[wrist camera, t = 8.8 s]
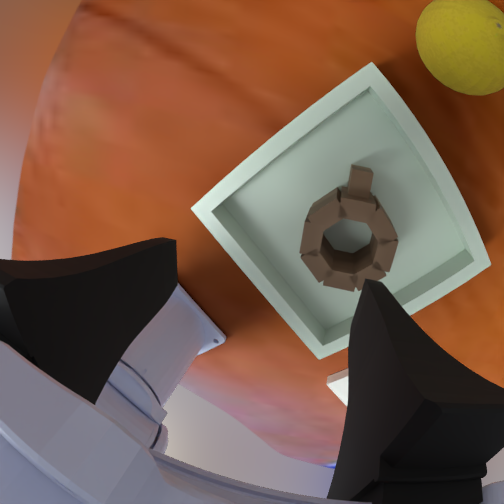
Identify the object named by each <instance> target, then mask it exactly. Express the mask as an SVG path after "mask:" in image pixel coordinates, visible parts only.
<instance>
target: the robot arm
mask: <svg viewBox="0 0 504 504" xmlns="http://www.w3.org/2000/svg"><path fill="white" fill-rule="evenodd" d="M216 339H217V340H218V341H217V340H216ZM225 341H226V336H225V335H224V333H223V332H222V331H221V330H220V329H219V328H218V327H217V326H216V325H215V324H214V323H213V322H212V321H211V319H210V318H209V317H208V316H207V315H206V314H205V313H204V312H203V311H202V309H201V308H200V307H199V306H198V305H197V304H196V303H195V302H194V301H193V299H192V298H191V297H190V296H189V295H188V294H187V293H186V291H185V290H184V289H183V288H182V287H181V286H180V285H179V283H178V279H177V251H176V240H173V239H168V238H164V237H162V238H154V239H150V240H145V241H141V242H137V243H134V244H130V245H126V246H123V247H119V248H115V249H111V250H107V251H103V252H99V253H95V254H90V255H85V256H79V257H73V258H66V259H55V260H43V261H17V260H5V259H0V504H504V481H499V482H494V483H491V484H489V485H486V486H484V487H482V483H481V478H483V477H485V476H486V474H487V467H486V462H488V461H489V460H490V459H491V458H492V457H493V456H495V455H496V454H497V453H498V452H499V451H500V450H501V449H502V448H503V447H504V388H502V387H500V386H498V385H496V384H494V383H492V382H490V381H488V380H486V379H485V378H483V377H481V376H480V375H478V374H476V373H475V372H473V371H472V370H470V369H469V368H467V367H466V366H464V365H463V364H461V363H460V362H459V361H457V360H456V359H455V358H453V357H452V356H451V355H450V354H448V353H447V352H446V351H445V350H443V349H442V348H441V347H440V346H439V345H438V344H437V343H436V342H434V341H433V340H432V339H431V338H430V337H429V336H428V335H427V334H426V333H425V332H424V331H423V330H422V329H421V328H420V327H419V326H418V325H417V323H416V322H415V321H414V320H413V319H412V318H411V317H410V316H409V314H408V313H407V312H406V311H405V310H404V308H403V307H402V306H401V305H400V304H399V302H398V301H397V300H396V299H395V297H394V296H393V295H392V293H391V292H390V291H389V290H388V288H387V287H386V286H385V285H384V284H383V283H382V282H381V281H376V280H371V279H366V278H365V281H364V284H363V288H362V291H361V294H360V298H359V301H358V304H357V307H356V310H355V314H354V317H353V320H352V323H351V328H350V336H349V346H348V405H347V413H346V419H345V425H344V431H343V436H342V441H341V446H340V451H339V455H338V459H337V463H336V467H335V471H334V475H333V479H332V483H331V486H330V489H329V492H328V496H327V499H325V498H317V497H311V496H304V495H298V494H293V493H288V492H283V491H277V490H273V489H269V488H264V487H260V486H256V485H252V484H248V483H245V482H241V481H238V480H234V479H231V478H227V477H224V476H221V475H218V474H215V473H212V472H209V471H205V470H203V469H200V468H197V467H194V466H192V465H189V464H186V463H184V462H182V461H179V460H176V459H174V458H172V457H169V456H167V455H165V454H164V453H165V451H166V448H167V445H168V430H167V428H166V426H164V425H163V424H162V421H163V420H164V418H165V416H166V415H167V412H166V411H165V410H164V409H163V406H164V405H165V403H166V402H167V400H168V399H169V397H170V395H171V394H172V393H173V391H174V390H175V388H176V386H177V385H178V383H179V382H180V380H181V379H182V377H183V376H184V374H185V373H186V371H187V370H188V368H189V366H190V365H191V363H192V362H193V360H194V359H195V357H196V356H197V355H200V354H202V353H204V352H206V351H208V350H210V349H212V348H214V347H216V346H218V345H220V344H222V343H224V342H225Z"/></svg>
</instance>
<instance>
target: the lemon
mask: <svg viewBox="0 0 504 504" xmlns="http://www.w3.org/2000/svg"><path fill="white" fill-rule="evenodd" d="M415 35H416V43H417V49H418V52H419V54H420V57H421V59H422V61H423V63H424V64H425V66H426V68H427V69H428V70H429V71H430V72H431V74H432V75H433V76H434V77H435V78H436V79H437V80H439V81H440V82H441V83H442V84H443V85H445V86H447V87H449V88H451V89H453V90H454V91H457V92H460V93H464V94H467V95H487V94H491V93H494V92H497V91H500V90H501V89H503V88H504V14H503V12H502V11H501V10H500V9H499V8H497V7H496V6H495V5H493V4H492V3H491V2H489V1H487V0H434V1H432V2H431V3H430V4H429V5H428V6H427V7H426V8H425V9H424V10H423V12H422V13H421V15H420V17H419V19H418V22H417V27H416V34H415Z"/></svg>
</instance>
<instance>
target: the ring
mask: <svg viewBox="0 0 504 504" xmlns="http://www.w3.org/2000/svg"><path fill="white" fill-rule="evenodd" d="M373 174H374V173H373V172H372V170H371V168H367V167H362V166H358V165H353V164H351V168H350V174H349V180H348V186H347V187H344V186H342V187H341V191H340V190H339V188H338V187H336V188H335V189H333V190H332V191H330V192H329V193H327V194H326V195H324V196H323V197H321V198H320V199H319V200H317V201H316V202H314V203H313V204H312V206H311V207H310V209H309V212H308V214H307V217H306V219H305V222H304V228H303V234H302V240H301V246H300V252H299V253H300V254H301V257H300V258H301V259H302V261H303V262H304V263H305V265H306V266H307V267H308V269H309V270H310V271H311V273H312V274H313V276H314V277H315V278H316V280H317V281H318V282H319V283H320V282H322V281H323V280H324V281H323V286H328V287H333V288H337V289H342V290H347V291H351V292H354V290H355V287H356V288H357V290H358V291H360V290H362V288H363V284H364V281H365V278H366V279H371V280H376V281H378V280H380V279H382V278H384V277H386V272H390V269H391V266H392V263H393V260H394V256H395V253H396V250H397V246H398V243H399V241H398V239H397V237H398V235H397V233H396V231H395V228H394V226H393V224H392V222H391V220H390V218H389V216H388V215H387V213H386V211H385V210H384V208H383V207H382V205H381V203H380V202H379V200H378V199H377V197H376V195H374V196H373V195H372V192H370V190H371V185H372V180H373ZM343 218H344V219H349V220H353V221H358V222H363V223H367V225H368V226H369V228H370V229H371V231H372V235H371V239H370V243H369V244H368V245H366V246H364V247H363V248H361V249H359V250H358V251H356V252H354V253H349V252H345V251H340V250H335V249H334V248H333V247H332V245H331V244H330V243H329V241H328V240H327V238H326V237H325V236H324V234H323V232H324V230H326V229H327V228H329V227H331V226H332V225H334V224H335V223H337V222H338V221H340V220H342V219H343Z"/></svg>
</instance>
